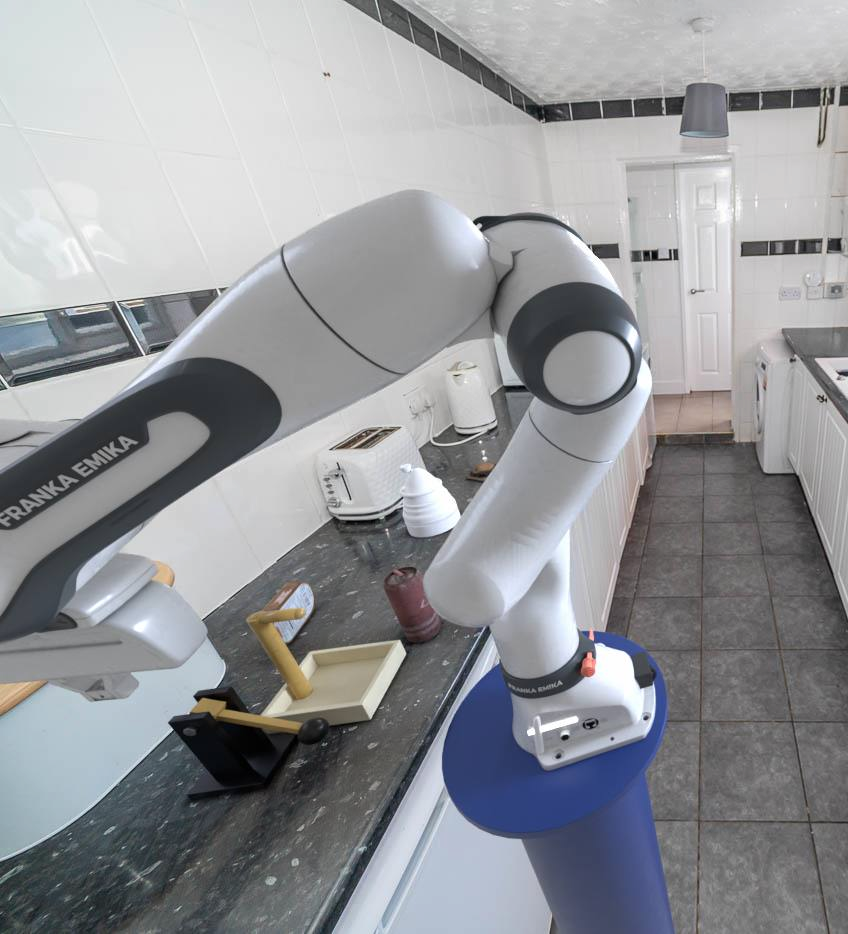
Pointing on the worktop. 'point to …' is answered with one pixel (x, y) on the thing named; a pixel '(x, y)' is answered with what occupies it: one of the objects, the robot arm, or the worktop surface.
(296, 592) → the tin
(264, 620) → the spout
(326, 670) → the cream wooden tray
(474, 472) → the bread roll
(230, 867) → the worktop surface
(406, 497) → the honey pot
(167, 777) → the worktop surface
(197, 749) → the bracket
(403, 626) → the can
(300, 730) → the tap lever
